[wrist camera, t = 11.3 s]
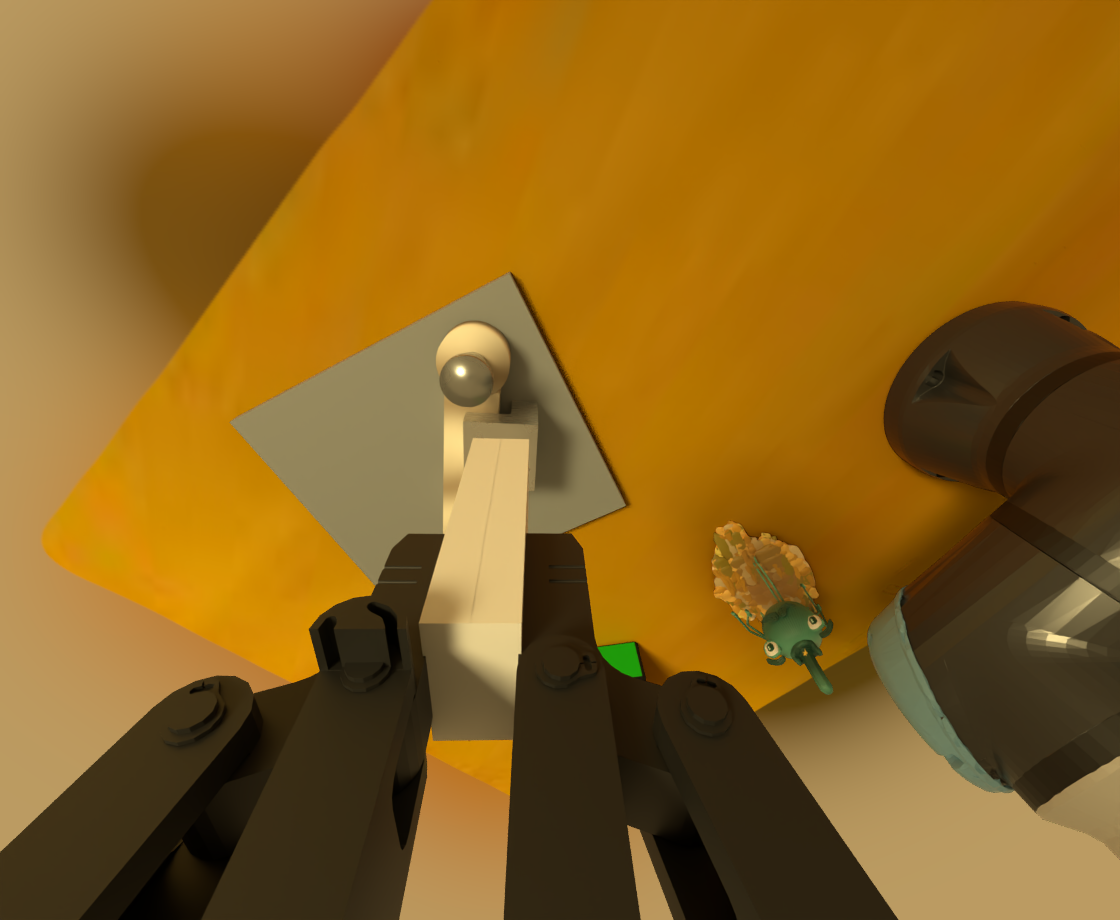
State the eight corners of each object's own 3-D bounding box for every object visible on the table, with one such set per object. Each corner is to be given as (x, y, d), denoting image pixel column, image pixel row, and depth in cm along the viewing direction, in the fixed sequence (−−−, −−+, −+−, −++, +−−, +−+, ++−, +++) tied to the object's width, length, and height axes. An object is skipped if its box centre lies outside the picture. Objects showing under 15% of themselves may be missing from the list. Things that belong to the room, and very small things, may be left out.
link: (441, 316, 35) (435, 323, 33) (513, 324, 36) (512, 331, 33) (440, 536, 44) (435, 552, 42) (497, 539, 44) (496, 556, 42)
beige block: (455, 327, 37) (438, 354, 30) (540, 332, 37) (543, 360, 30) (458, 452, 42) (444, 501, 35) (533, 455, 42) (534, 504, 35)
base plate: (623, 498, 45) (625, 505, 44) (395, 596, 49) (392, 605, 48) (510, 271, 35) (509, 273, 34) (237, 416, 39) (229, 422, 38)
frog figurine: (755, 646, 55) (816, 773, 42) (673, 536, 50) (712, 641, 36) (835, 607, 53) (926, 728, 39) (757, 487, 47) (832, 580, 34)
